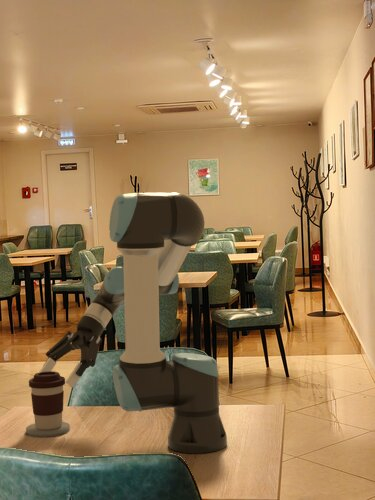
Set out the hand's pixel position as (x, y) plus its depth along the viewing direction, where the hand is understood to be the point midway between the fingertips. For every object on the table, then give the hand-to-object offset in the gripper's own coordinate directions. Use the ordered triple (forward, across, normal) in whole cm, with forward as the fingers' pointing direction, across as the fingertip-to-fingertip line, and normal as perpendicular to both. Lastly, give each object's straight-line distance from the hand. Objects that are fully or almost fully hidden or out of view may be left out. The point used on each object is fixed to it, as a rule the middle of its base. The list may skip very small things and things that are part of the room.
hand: (54, 381), depth 207 cm
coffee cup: (+11, -1, -6) cm, 13 cm away
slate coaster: (+12, -1, -7) cm, 14 cm away
